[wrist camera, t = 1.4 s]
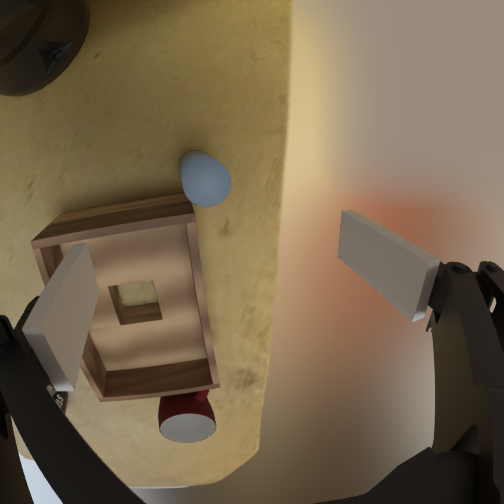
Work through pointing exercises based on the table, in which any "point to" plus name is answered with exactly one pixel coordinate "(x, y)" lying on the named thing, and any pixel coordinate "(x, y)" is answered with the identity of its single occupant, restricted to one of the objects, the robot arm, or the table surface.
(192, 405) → the mug
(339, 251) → the robot arm
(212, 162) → the peg
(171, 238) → the tray box
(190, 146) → the table surface
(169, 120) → the table surface
